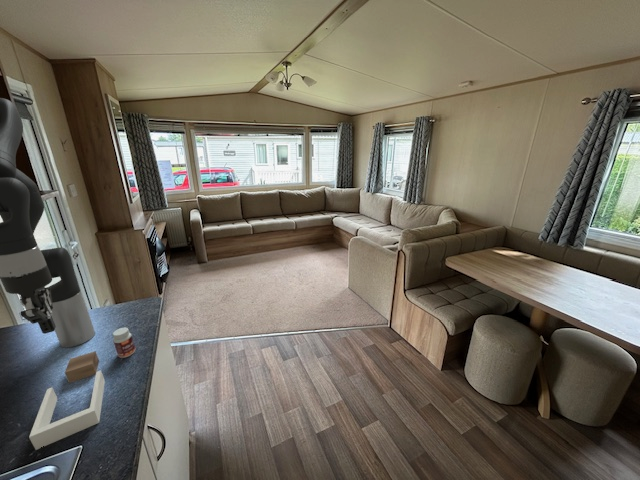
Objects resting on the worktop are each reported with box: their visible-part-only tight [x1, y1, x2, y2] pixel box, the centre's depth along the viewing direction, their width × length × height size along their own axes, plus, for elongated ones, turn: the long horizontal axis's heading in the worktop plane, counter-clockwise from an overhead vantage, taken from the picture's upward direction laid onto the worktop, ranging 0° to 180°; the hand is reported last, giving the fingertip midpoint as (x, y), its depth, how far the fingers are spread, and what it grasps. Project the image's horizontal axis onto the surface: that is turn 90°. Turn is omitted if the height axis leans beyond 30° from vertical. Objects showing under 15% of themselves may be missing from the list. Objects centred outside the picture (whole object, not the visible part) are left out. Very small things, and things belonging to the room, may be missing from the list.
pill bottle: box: [112, 327, 136, 359], centre depth 84 cm, size 5×5×8 cm
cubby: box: [29, 369, 106, 451], centre depth 66 cm, size 14×11×4 cm
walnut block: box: [64, 351, 100, 384], centre depth 78 cm, size 6×6×4 cm
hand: (49, 330), depth 66 cm, fingers closed
